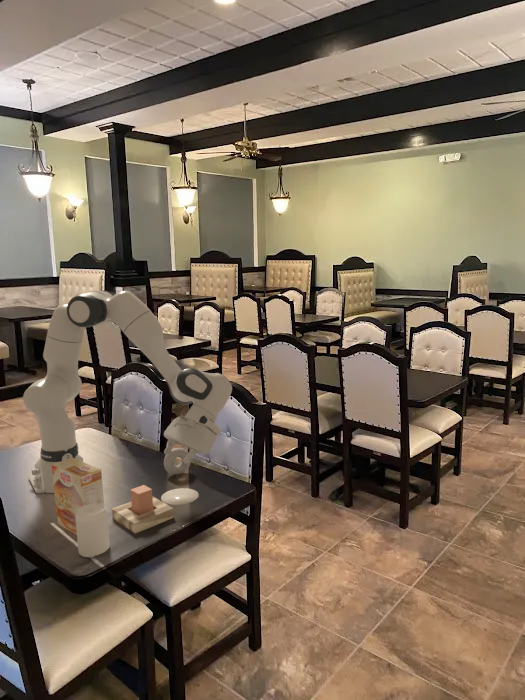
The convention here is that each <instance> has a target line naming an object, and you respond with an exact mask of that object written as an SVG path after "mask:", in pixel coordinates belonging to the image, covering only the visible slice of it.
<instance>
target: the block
mask: <svg viewBox="0 0 525 700" xmlns="http://www.w3.org/2000/svg"><path fill="white" fill-rule="evenodd" d="M152 496H153V489H152V488H150V487H148V486H147V485H145V484H142V485H139V486H136V487H134V488H131V489H130V499H131V501H130V502H131V503H132V512H133V513H135V514H136V515H138V516H139V515H142V514H144V513H147V512H150V511H152V510H153V499H152Z"/></svg>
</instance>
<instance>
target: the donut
mask: <svg viewBox="0 0 525 700" xmlns="http://www.w3.org/2000/svg"><path fill="white" fill-rule="evenodd" d="M188 453H189V450H187V449H185V448H182V447H175V448H172V453H171V454H170V455H166V454H165V455H164V459H163V466H164V467H163V468H164V469H165V471H166V472H167V473H168V474H170V475H174V476H176V475H177V476H178V475H181V474H184V473H185V472H186V471H188V469H189V467H190V466H191V463H192V462H191V461H192V458H191V459H190V460H189V462H188V463H184V462H183V461H181V462H180V463H179V464H178V465H176V464H174V461H175V459H177V458H180V460H181V459H182V458H183V456H184V455H185V456H186V455H187V454H188Z"/></svg>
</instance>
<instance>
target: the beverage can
mask: <svg viewBox="0 0 525 700" xmlns="http://www.w3.org/2000/svg"><path fill="white" fill-rule="evenodd" d="M108 517H109V516H108V510H107V508H106V506H105V504H104V505H102V504H98V503H94V504H88V505H84V506H82V507H80V508H79V509H78V510H77V514H76V516H75V520H76V530H77V535H76V537H77V538H76V539H77V549H78V550H77V551H78V554H79V556H81V557H84V558H95V556H98V555H101V554H103V553H105V552H107V550H109V548H110V546H111V544H110V543H111V542H110V541H111V539H110V531H109V530H110V529H109V518H108Z"/></svg>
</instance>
